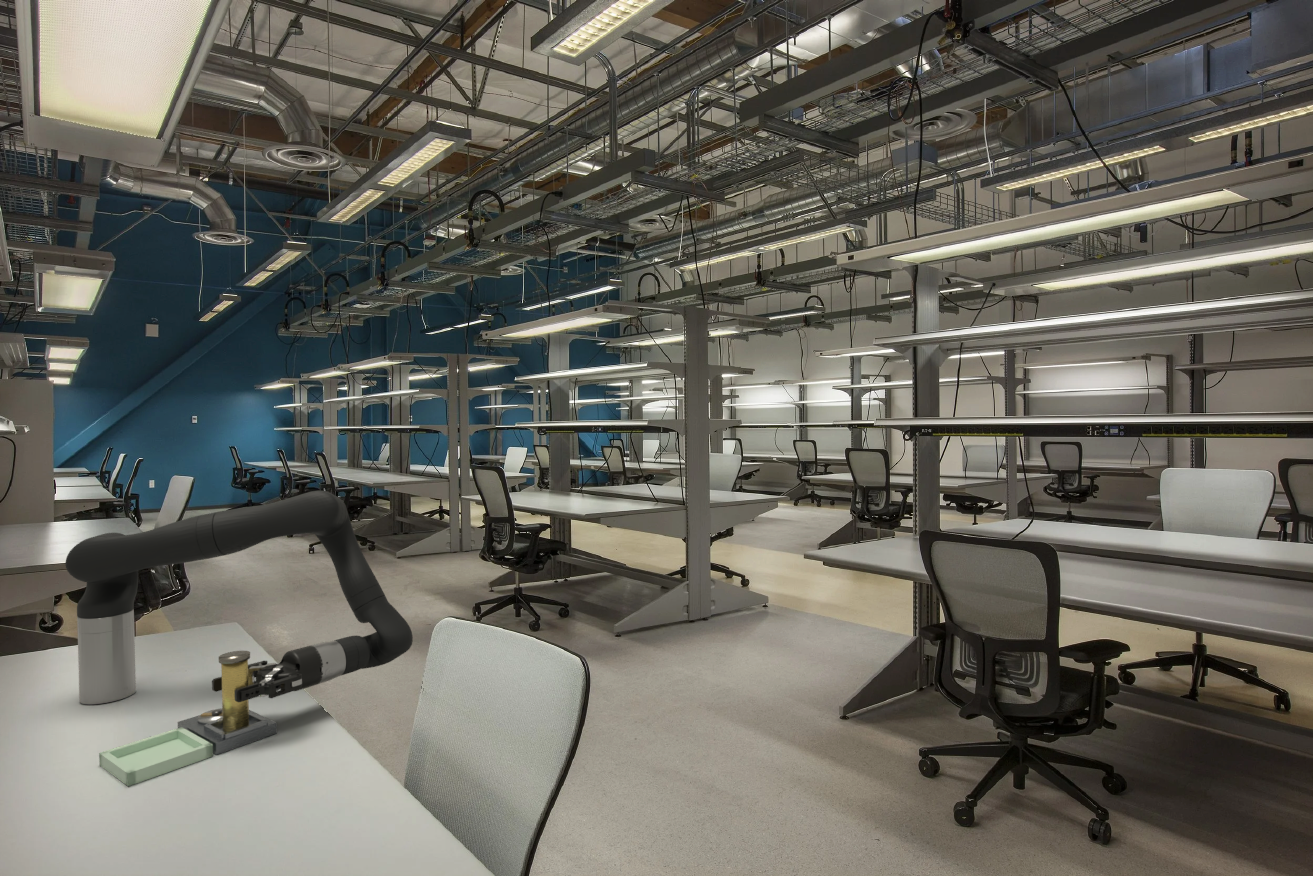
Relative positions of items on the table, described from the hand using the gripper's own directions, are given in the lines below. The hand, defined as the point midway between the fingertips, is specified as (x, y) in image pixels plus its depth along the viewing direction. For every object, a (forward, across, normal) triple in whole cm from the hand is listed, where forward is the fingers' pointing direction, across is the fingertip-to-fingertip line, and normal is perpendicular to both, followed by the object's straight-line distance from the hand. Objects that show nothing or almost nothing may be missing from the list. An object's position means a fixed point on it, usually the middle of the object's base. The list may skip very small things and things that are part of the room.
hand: (224, 691), depth 125 cm
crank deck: (-2, -4, +9) cm, 10 cm away
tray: (+10, -2, +9) cm, 13 cm away
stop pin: (-2, 0, +7) cm, 7 cm away
